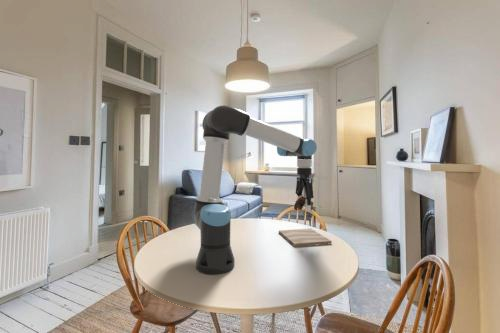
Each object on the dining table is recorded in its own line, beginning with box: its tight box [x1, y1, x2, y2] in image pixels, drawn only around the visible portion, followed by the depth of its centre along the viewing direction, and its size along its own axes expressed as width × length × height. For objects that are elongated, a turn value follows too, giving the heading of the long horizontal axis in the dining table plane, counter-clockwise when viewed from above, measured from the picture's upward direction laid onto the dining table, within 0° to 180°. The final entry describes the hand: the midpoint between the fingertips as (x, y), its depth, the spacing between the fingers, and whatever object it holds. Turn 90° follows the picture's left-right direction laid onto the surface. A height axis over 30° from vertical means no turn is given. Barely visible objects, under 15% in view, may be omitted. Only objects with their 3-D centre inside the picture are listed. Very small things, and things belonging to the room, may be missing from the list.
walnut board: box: [278, 228, 332, 248], centre depth 128 cm, size 22×20×2 cm
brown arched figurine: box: [293, 195, 314, 212], centre depth 126 cm, size 12×10×8 cm
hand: (303, 209), depth 127 cm, fingers closed on brown arched figurine, 9 cm apart
